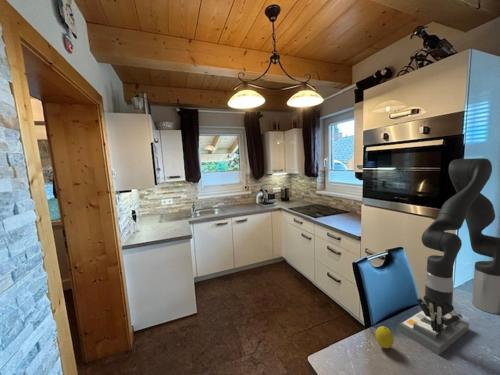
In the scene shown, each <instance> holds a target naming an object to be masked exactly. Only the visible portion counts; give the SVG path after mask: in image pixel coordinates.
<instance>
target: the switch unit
mask: <svg viewBox="0 0 500 375" xmlns="http://www.w3.org/2000/svg"><path fill="white" fill-rule="evenodd" d="M429 309H430V308H429ZM449 314H450V315H451V312H450V313H449ZM427 318H428V317H427V316H426V315H425V314H424V312H423V310H422V309H421V310H419V311H418V312H417V313H415V314H412V315H411V316H410V317H408V318H406V319H404V321H401V322H400V323H398V332H399V333H401V334H403V335H405V336H406V337H408V338H409V339H411V338H412V340H413V341H414V340H415V342H416V341H417V342H416V343H417V344H419V343H420V344H419V345H421V346H422V347H424V348H426V349H427V348H428V349H427V350H430V352H433V353H434V354H436V355H437V356H440V355H441V354H442V353H443V352H444V351H446V350H448V348H450V347H451V346H452V345H453V344H454V343H455V342H457V340H459V339H461V337H463V336H464V334H466V333H468V332H469V328H470V322H469V321H465V320H464V319H462V318H460V319H459V320H457V321H456V322H455V323H454V322H453V323H451V324H449V325H448V326H446V327H443V331H442V332H441V333H438V334H437V335H435V334H434V333H432V332H430V331H428V330H426V329H424V328H423V327H421V326H419V325H417V323H419V322H420V321H422V322H425V323H427V324H429V325H431V320H429V319H427ZM447 319H448V318H446V317H445V320H447ZM451 344H452V345H451Z"/></svg>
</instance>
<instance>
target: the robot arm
mask: <svg viewBox="0 0 500 375" xmlns="http://www.w3.org/2000/svg"><path fill="white" fill-rule="evenodd" d="M492 165H493V164H492V162H491V161H490V159H489V158H485V157H482V158H479V157H478V158H458V159H453V160H451V161H450V162H449V164H448V175H449V178H450V181H451V183H452V185H453V187H454V190H455V192H456V193H455V194H454V195H453V196H451V197H449V198H448V199H447V200H446V201H445V202H444V203H443V205H442V206H441V208H440V211H439V213H438V215H437V217H436V218H435V220H434V221H433V222H432V223H431V224H430V225H429V226H428V227H427V228H426V229H425V230H424V231H423V233H422V235H421V243H422V244H423V246H424V247H425V248H428V249H431V250H434V251H438V252H442V253H443V255H439V254H438V255H436V254H434V255H429V256H428V257H427V260H426V272H425V273H426V274H425V279H424V282H425V283H424V284H425V285H424V287H425V288H424V296H423V297H418V298H417V299H416V301H417V304H418V305H419V307H420V309H421V310H423V312H424V314H425V315H426V316H427V317H430V318H431V327H432V328H433V330H434V331H436V332H437V333H441V332H442V331H443V324H444V325H446V326H447V325H449V324H451V323H453V322H455V321H457V320H459V319H462V317H463V316H462V315H461V314H460V313H457V311H455V307H454V305H453V300H454V277H453V276H454V275H453V273H454V264H455V261H456V258H457V257H458V254H459V253H460V250H461V248H462V244H463V242H462V239H461V238H460V236H459V235H458V234H456V233H451V232H447V231H458V230H460V229H462V227H463V224H464V223H466V226H467V231H468V237H469V243H470V247H471V250H472V251H473V253H475V254H478V255H481V256H484V257H488V258H493V260H488V261H486V260H478V261H476V262H474V271H473V285H472V298H471V299H472V300H471V302H472V305H473V306H474V307H475V308H477V309H479V310H481V311H484V312H487V313H490V314H495V315H498V314H500V237H497V236H492V235H487V234H483V231H484V230H485V229H486V228H487V227H490V226H491V224H492V223H494V221H495V219H496V212H495V207H494V204H493V202H492V201H491V200H490V199H489V198H488V197H486V196H485V195H484V194H482V191H483V189H484V188H485V186H486V184H487V183H488V181H489V180H490V178H491V175H492V172H493V166H492ZM429 308H430V309H429ZM448 313H451V315H450V316H451V318H449V319H447V320H445V315H446V314H448Z"/></svg>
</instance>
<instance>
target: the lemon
mask: <svg viewBox="0 0 500 375" xmlns="http://www.w3.org/2000/svg"><path fill="white" fill-rule="evenodd" d="M375 330H376V331H375V340H376V341H377V343H378V345H379V347H381V348H384V349H390V348H392V347H393V345H394V335H393V333H392V331H391V330H390V329H389V328H388V327H386V326H383V325H382V326H378V327H377V329H375Z"/></svg>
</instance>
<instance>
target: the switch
mask: <svg viewBox="0 0 500 375" xmlns="http://www.w3.org/2000/svg"><path fill="white" fill-rule="evenodd" d="M417 325H419V326H421V327H423V328H424V329H426V330H428V331H430V332H432V333H434V334H435V335H437V334H438V333H437V332H436V331H434V330H433V328H432V327H431V325H429V324H427V323H425V322H422V321H420V322H419V323H417Z"/></svg>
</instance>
